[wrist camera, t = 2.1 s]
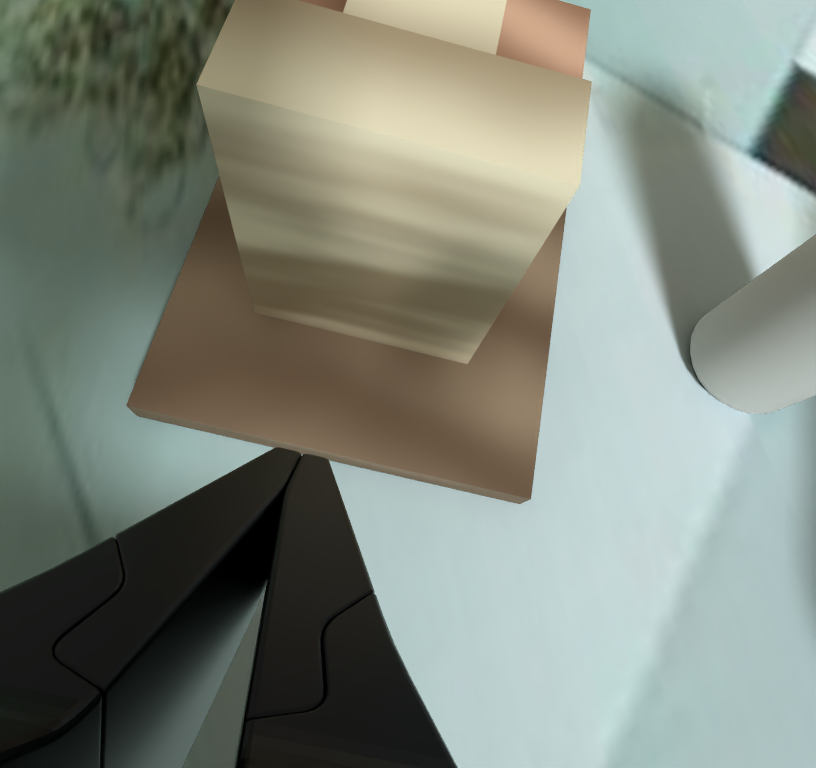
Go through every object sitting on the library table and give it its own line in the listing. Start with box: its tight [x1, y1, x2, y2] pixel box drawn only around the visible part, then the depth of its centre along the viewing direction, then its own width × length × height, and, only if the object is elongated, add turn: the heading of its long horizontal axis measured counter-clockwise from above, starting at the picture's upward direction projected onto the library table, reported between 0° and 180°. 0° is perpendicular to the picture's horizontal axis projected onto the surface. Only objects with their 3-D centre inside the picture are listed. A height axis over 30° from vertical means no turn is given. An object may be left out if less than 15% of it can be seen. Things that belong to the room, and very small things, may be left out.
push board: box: [126, 0, 591, 504], centre depth 24 cm, size 25×14×1 cm, turn 168°
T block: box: [196, 0, 592, 364], centre depth 18 cm, size 10×8×10 cm
